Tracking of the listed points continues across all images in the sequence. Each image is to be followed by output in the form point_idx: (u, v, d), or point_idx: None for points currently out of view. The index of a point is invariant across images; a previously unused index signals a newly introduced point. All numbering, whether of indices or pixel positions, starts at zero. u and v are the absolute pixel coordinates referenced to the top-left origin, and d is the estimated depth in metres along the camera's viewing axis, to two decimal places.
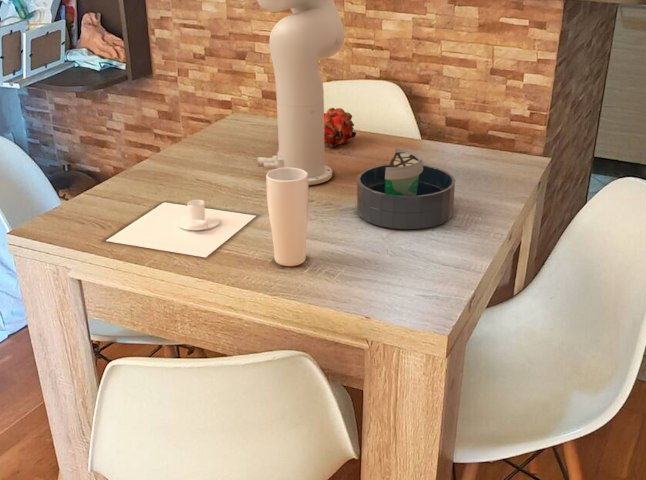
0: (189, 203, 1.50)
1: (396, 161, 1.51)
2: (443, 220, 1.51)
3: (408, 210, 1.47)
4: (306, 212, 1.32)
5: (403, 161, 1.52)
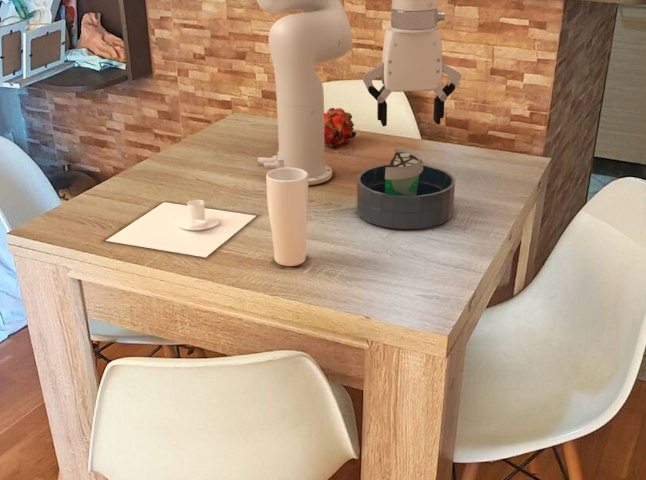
0: (189, 203, 1.50)
1: (396, 161, 1.51)
2: (443, 220, 1.51)
3: (408, 210, 1.47)
4: (306, 212, 1.32)
5: (403, 161, 1.52)
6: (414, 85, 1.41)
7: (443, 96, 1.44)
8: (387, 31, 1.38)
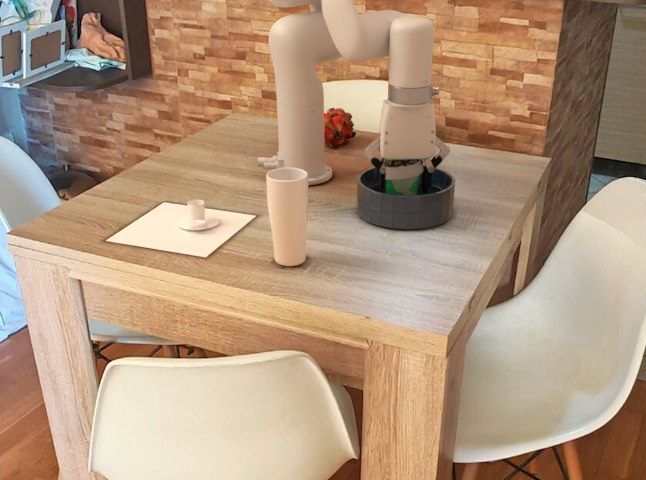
0: (189, 203, 1.50)
1: (396, 161, 1.51)
2: (443, 220, 1.51)
3: (408, 210, 1.47)
4: (306, 212, 1.32)
5: (404, 161, 1.52)
6: (409, 154, 1.48)
7: (431, 168, 1.51)
8: (384, 104, 1.45)
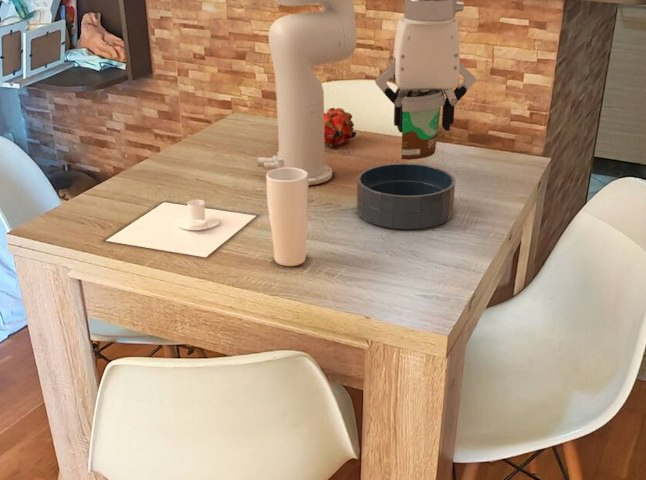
0: (189, 203, 1.50)
1: (414, 93, 1.30)
2: (443, 220, 1.51)
3: (408, 210, 1.47)
4: (306, 212, 1.32)
5: (422, 93, 1.31)
6: (429, 83, 1.28)
7: (453, 100, 1.30)
8: (400, 23, 1.24)
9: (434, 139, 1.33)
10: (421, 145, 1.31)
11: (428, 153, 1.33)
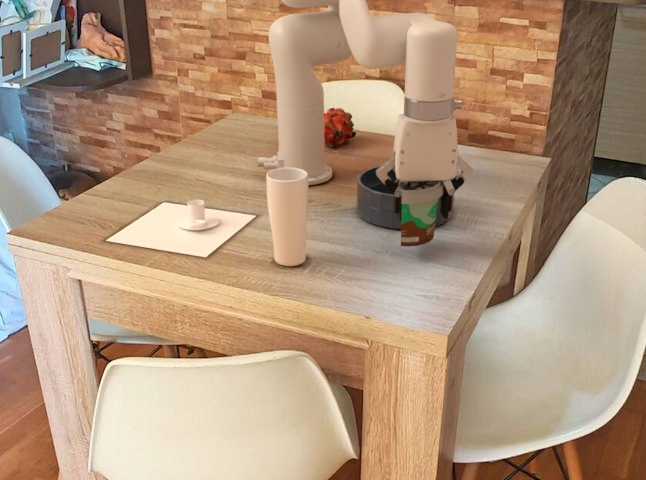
0: (189, 203, 1.50)
1: (413, 183, 1.35)
2: (443, 220, 1.51)
3: None
4: (306, 212, 1.32)
5: (421, 183, 1.35)
6: (427, 176, 1.32)
7: (451, 190, 1.35)
8: (399, 119, 1.29)
9: (432, 226, 1.37)
10: (420, 233, 1.36)
11: (427, 240, 1.37)
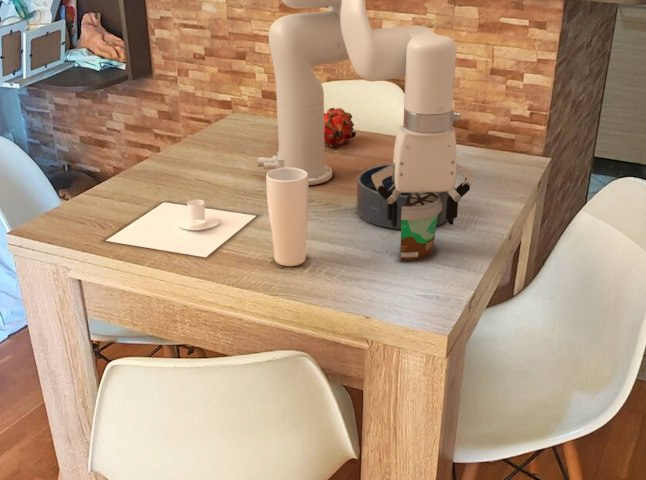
0: (189, 203, 1.50)
1: (412, 199, 1.36)
2: (443, 220, 1.51)
3: None
4: (306, 212, 1.32)
5: (421, 198, 1.37)
6: (426, 187, 1.33)
7: (457, 197, 1.35)
8: (399, 131, 1.30)
9: (432, 241, 1.38)
10: (419, 248, 1.37)
11: (426, 255, 1.39)
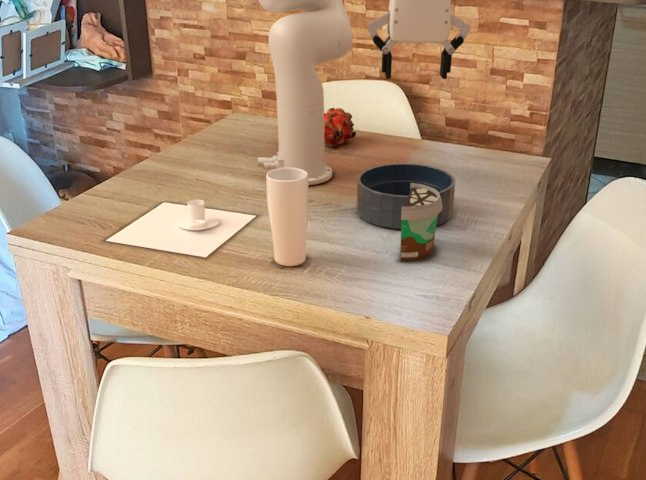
0: (189, 203, 1.50)
1: (412, 199, 1.36)
2: (443, 220, 1.51)
3: None
4: (306, 212, 1.32)
5: (421, 198, 1.37)
6: (421, 36, 1.35)
7: (451, 49, 1.38)
8: None
9: (432, 241, 1.38)
10: (419, 248, 1.37)
11: (426, 255, 1.39)
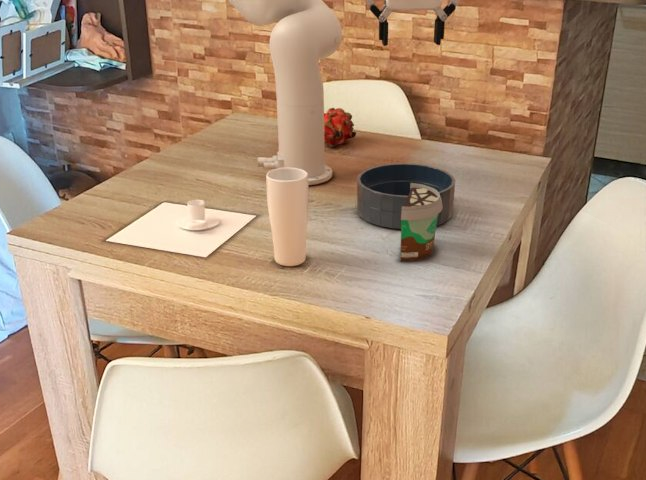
0: (189, 203, 1.50)
1: (412, 199, 1.36)
2: (443, 220, 1.51)
3: None
4: (306, 212, 1.32)
5: (421, 198, 1.37)
6: (415, 4, 1.44)
7: (443, 16, 1.46)
8: None
9: (432, 241, 1.38)
10: (419, 248, 1.37)
11: (426, 255, 1.39)
